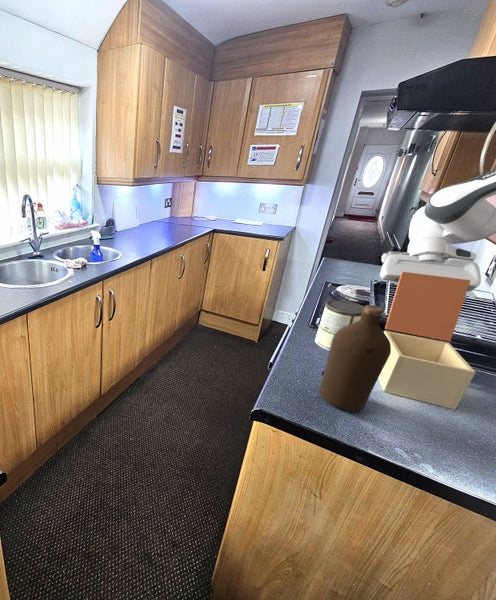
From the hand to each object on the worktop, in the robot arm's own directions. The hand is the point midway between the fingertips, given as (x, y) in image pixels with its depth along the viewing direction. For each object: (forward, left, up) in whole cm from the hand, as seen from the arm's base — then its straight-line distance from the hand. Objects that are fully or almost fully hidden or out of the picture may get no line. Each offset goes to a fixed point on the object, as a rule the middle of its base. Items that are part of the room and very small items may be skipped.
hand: (425, 297), depth 89 cm
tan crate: (0, +12, -21) cm, 24 cm away
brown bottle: (+17, +29, -21) cm, 40 cm away
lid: (0, +2, -2) cm, 3 cm away
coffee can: (+16, -2, -21) cm, 26 cm away
